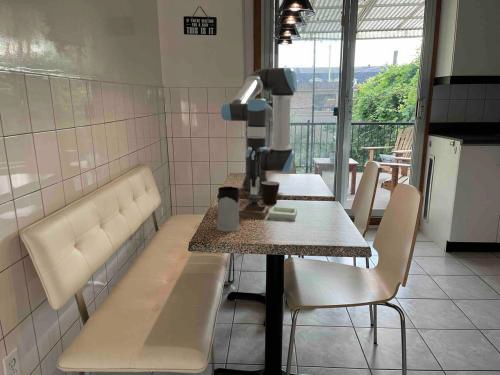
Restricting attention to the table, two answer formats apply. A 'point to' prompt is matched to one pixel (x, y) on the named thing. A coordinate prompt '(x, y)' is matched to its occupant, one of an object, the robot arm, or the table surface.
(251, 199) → the marbled chess piece
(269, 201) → the coffee mug
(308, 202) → the table surface
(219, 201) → the white and black cylinder
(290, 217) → the sage tray
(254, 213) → the walnut holder
